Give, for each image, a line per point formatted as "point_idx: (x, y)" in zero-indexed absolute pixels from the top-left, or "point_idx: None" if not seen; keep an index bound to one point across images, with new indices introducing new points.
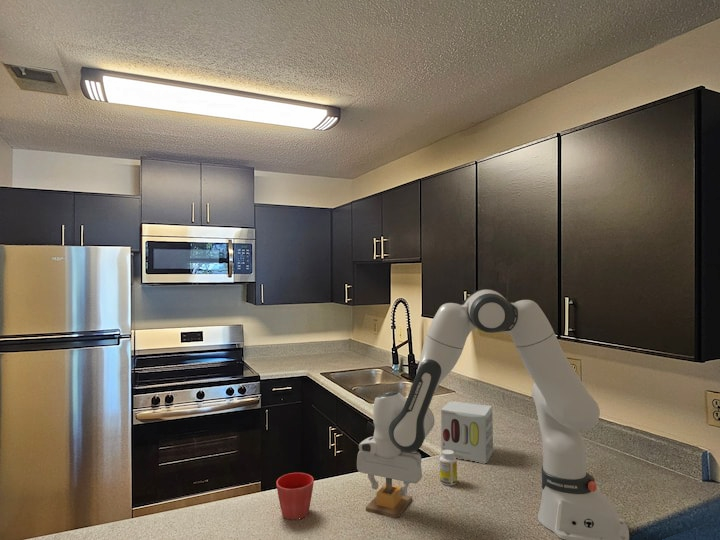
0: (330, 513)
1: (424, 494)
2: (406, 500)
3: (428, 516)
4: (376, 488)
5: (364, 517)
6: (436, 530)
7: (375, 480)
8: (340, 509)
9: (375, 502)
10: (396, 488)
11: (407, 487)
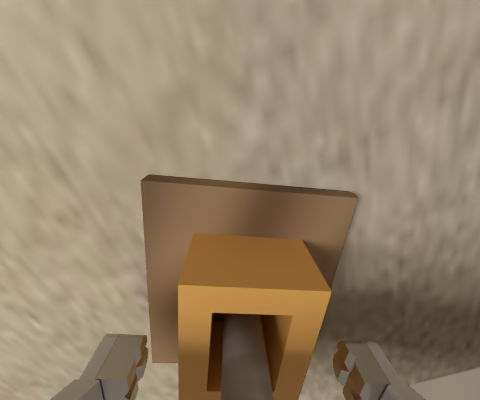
0: (40, 396)
1: (428, 94)
2: (331, 254)
3: (429, 303)
4: (145, 360)
5: (177, 379)
6: (449, 364)
7: (92, 389)
8: (53, 368)
9: (175, 320)
10: (293, 326)
11: (413, 398)
